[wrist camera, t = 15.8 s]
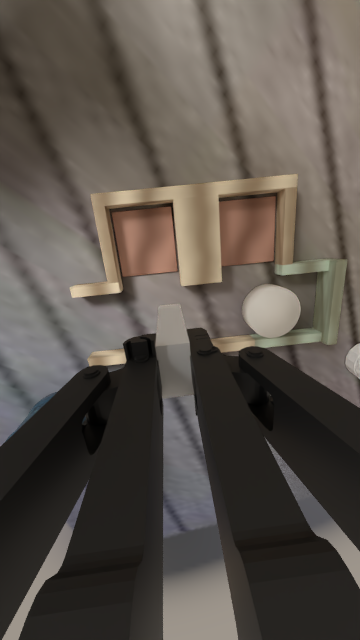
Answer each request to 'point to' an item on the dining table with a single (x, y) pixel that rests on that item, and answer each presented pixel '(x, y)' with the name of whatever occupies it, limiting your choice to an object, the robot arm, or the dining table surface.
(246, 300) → the white pebble
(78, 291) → the beige flat wooden frame
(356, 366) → the white cup
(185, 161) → the dining table surface
